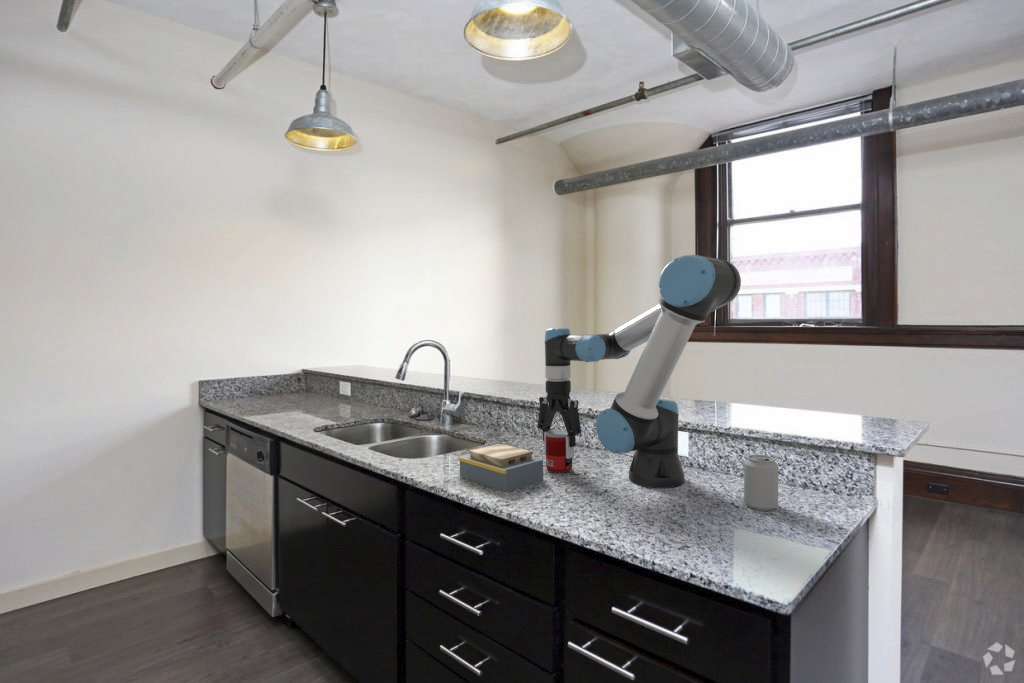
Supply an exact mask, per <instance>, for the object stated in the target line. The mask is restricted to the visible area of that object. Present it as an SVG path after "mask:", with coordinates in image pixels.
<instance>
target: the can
mask: <svg viewBox="0 0 1024 683" xmlns="http://www.w3.org/2000/svg"><path fill="white" fill-rule="evenodd" d="M746 458H747V459H746V460H745V461H744V462H743V503H745V504H746V506H747V507H749V508H750V509H752V510H753V509H754V510H756V511H762V512H763V511H764V512H766V511H773V510H775V508H777V507H778V506H779V464H778V463H777V462H776V458H775V457H773V456H770V455H766V454H765V455H764V454H749V455H747V456H746Z"/></svg>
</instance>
